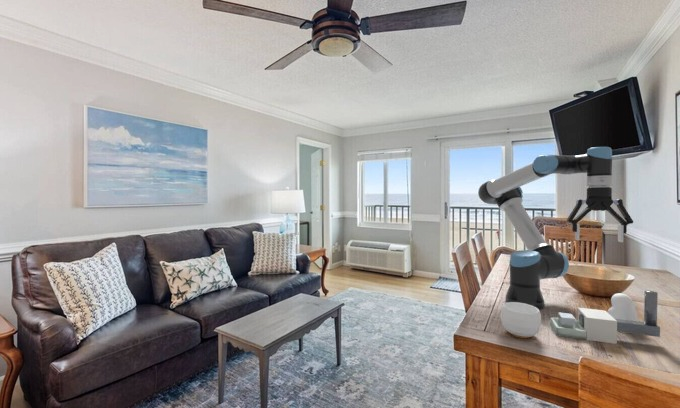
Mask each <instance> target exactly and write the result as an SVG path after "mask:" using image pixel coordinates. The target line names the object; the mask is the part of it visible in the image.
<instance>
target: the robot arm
mask: <svg viewBox="0 0 680 408" xmlns="http://www.w3.org/2000/svg"><path fill="white" fill-rule="evenodd" d="M613 159H614V157H613V149H612V148H611V147H609V146H595V147H590V148H587V151H586V153H585V154H579V155H560V154H558V155H557V154H542V155H541V154H540V155H538V156H537V157H536V158H535V159H534V160H533V162H530V163H529V164H527V165H524V166H522V167H520V168H517V169H516V170H514V171H512V172H509V173H508V174H505V175H503V176H501V177H499V178H497V179H489V180H487V181H486V182H483V184H481V185H480V186H479V188H478V197H479V199H480V200H481V202H483V203H485V204H488V205H497V207H498V208H499V210H500V211H502V212H504V213H506V214H505V215H506V216H507V217H508V219H509V221H510V223H511V224H512V226H513V227H514V229H515V231H516V233H517V234H518V236H519V238H520V241H522V243H523V244H524V246H525V248H526V250H523V249H522V250H515V251H513V252H511V254H510V257H509V287H508V288H507V291H506V294H505V303H507V302H518V303H525V304H528V305H532V306H534V307H536V308H538V309H539V310H542V309H544V308H545V307H546V306H545V299H544V297H543V293H542V290H541V280H547V279H557V278H560V277H563V276H565V275H566V274H567V272H568V271H569V267H570V263H569V262H570V261H569V259H568V258H567V256H566V255H565V254H564V253H563V252H560V251H557V250H556V249H555V247H554V246H553V244H549V243H548V242H546V240H545V239H544V237H543V235H542V234H541V232H540V230H539V229H538V228H537V226H536V225H535V223H534V221H533V219H532V218H531V216H530V215H529V213H528V212H527V210H526V209H525V207H524V206H523V204H522V203H523V200H524V199H523V193H524V192H523V189H522V186H524V185H527V184H530V183H533V182H535V181H537V180H540V179H542V178H545V177H548V176H550V175H552V174H553V175H554V174H557V175H559V174H560V175H573V174H583V173H584V174H586V187H587V188H586V199H580V198H579V199H576V204H575V206H574V207H573V209H572V211H571V212H570V213H569V216H568V217H567V219H566V222H567V223H571V225H572V226H571V230H572V232H573V233H574V240H576V241H580V237H581V236H580V229H581V228H580V226H581V225H580V224H579V222H580V221H581V220H582V219H583V218H585V217H586V216H587V215H588V214H589V213H590V212H592V211H593V212H594V211H595V212H596V211H597V212H598V211H601V212H604V211H607V213H609V214H610V215H611V216H612V217H613V218H614V219H616V221H617V222H618V223H619V224H617V242H619V243H624V234H627V228H628V225H630V224H633V223H634V220H633V219H632V217H631V215H630V214H629V212H628V210H627V208H626V207H625V206H624V202H623V199H621V198H620V199H619V198H617V199H613V198H612V197H613V195H612V193H613V191H612V190H613V189H612V187H611V186H612V185H613V178H612V177H613V171H612V169H613ZM584 204H585V205H586V207H585V208H584V209H583V211H581V212H580V213H579V214H578V212H579V211H580V209H581V208H582V206H583V205H584ZM613 204H614V206H616V207H617V209H618V210H619V212H620V214H621V215H619V214H618V212H617V211H615V210H614V209H613V208H612V205H613ZM577 214H578V215H577Z"/></svg>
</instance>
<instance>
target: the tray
mask: <svg viewBox="0 0 680 408" xmlns="http://www.w3.org/2000/svg"><path fill="white" fill-rule="evenodd" d="M549 319H550V320H549V325H550V326H551V329H552V331H553V332H554V334H555V335H556V336H558V337H564V338H565V337H566V338H571V339H579V340H580V339H581V340H585V341H586V331H585V330H580V329H579V328H578V319H575V329H570V328H563V327H559V326H558V317H553V316H552V317H551V316H550V318H549Z"/></svg>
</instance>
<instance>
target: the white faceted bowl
mask: <svg viewBox="0 0 680 408" xmlns="http://www.w3.org/2000/svg"><path fill="white" fill-rule="evenodd" d="M500 320H501V324H502V326H503V328H504V329H505V330H506V331H507V332H508V333H510V334H511V335H512V336H514V337H515V338H520V339H529V338H530V337H531V338H532V337H534V336H537V334H538V333H539V332H540V329H541V326H542V314H541V311H540V309H538V308H536V307H534V306H532V305H528V304H525V303H518V302H504V303H502V306H501V309H500Z"/></svg>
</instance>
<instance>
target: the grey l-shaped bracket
mask: <svg viewBox="0 0 680 408" xmlns="http://www.w3.org/2000/svg"><path fill="white" fill-rule="evenodd" d="M658 295H659V294H658V291H654V290H646V289H645V290H644V298H643V300H644V303H643V304H644V307H643V310H644V311H643V314H644V315H643V321H630V320H622V319H615V320H616V321H617V333H619V332H620V333H626V334H627V333H628V334H632V335H633V334H634V335H642V336H648V337H649V336H650V337H658V338H660V337H661V327H660V326H659V325H658ZM579 324H580V325H581V327H584V316H583V315H579Z"/></svg>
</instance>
